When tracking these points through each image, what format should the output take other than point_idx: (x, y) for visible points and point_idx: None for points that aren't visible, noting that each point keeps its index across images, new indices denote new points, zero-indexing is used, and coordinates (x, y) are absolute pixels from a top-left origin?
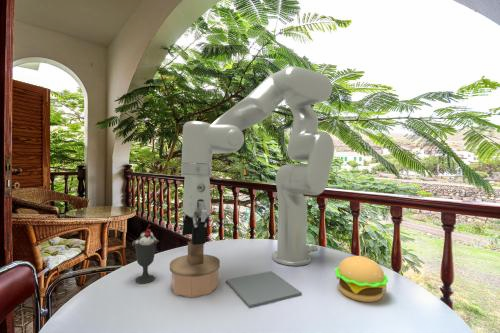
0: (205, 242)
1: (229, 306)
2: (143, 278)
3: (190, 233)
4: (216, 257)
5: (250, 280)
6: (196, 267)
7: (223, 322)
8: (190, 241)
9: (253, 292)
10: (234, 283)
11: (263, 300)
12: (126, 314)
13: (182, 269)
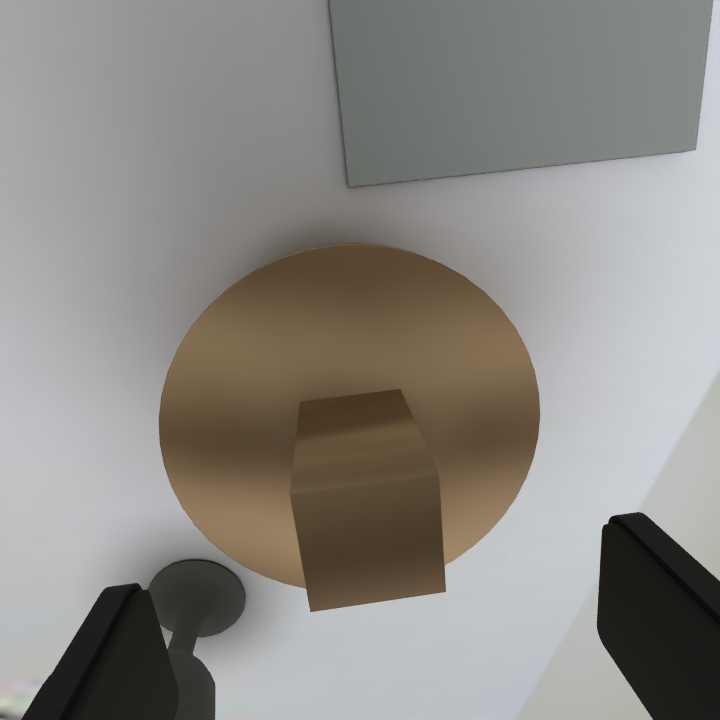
0: (640, 513)
1: (619, 247)
2: (215, 614)
3: (157, 637)
4: (291, 256)
5: (420, 4)
6: (458, 442)
7: (716, 306)
8: (313, 590)
9: (586, 62)
10: (424, 145)
11: (695, 40)
12: (494, 622)
13: (460, 525)
